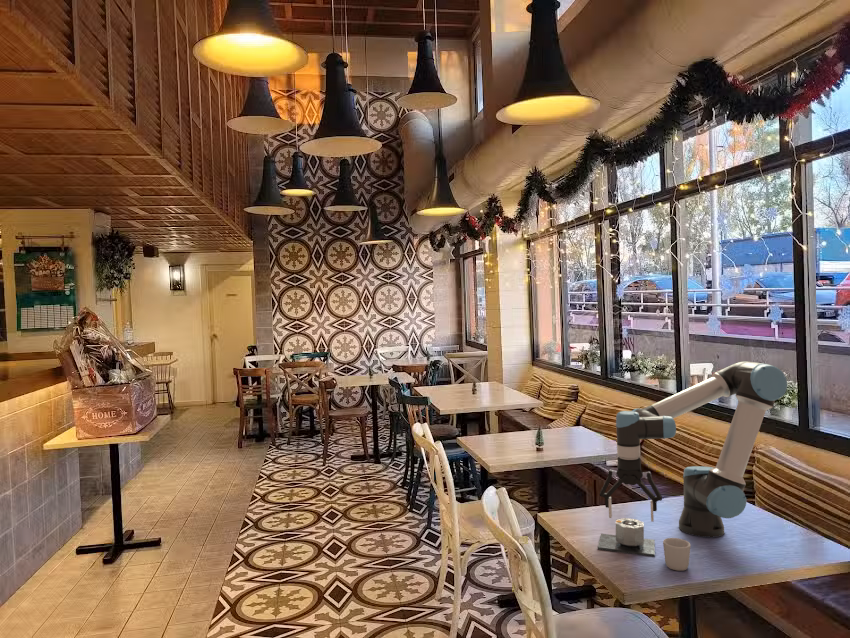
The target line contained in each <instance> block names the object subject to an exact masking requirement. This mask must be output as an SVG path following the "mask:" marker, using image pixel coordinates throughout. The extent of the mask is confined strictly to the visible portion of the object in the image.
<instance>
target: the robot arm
mask: <svg viewBox="0 0 850 638" xmlns="http://www.w3.org/2000/svg"><path fill="white" fill-rule="evenodd" d="M787 389H788V380H787V376H785V373H784V372H783V371H782V370H781V369H780V368H779V367H777V366H775V365H771V364H769V363H762V362H754V361H747V360H746V361H745V360H744V361H738V362H737V363H733V364H731V365H729V366H726V367H724V368H722V369H720V370H718V371H715V372H714V373H713V374H712V375H711V377H709V378H708V379H706V380H703V381H701V382H698V383H696V384H695V385H692V386H690V387H688V388H686V389H683V390H681V391H680V392H677V393H675V394H673V395H669V396H668V397H666V398H664V399H662V400H660V401H657V402H655V403H653V404H650V405H648V406H646V407H644V408H640V407H639V408H634V409H632V410H623V411H619V412H617V413H616V418H615V419H616V420H615V427H616V428H615V431H616V451H617V470H613V469H612V468H609V470H608V474H607V478H606V480H605V481H604V483H603V486H602V487H601V489H600V490H599V491H600V493H599V496H600V498H601V497H602V498H604V501H605V502H604V503H605V504H604V506H605V508H607V509H608V518H609V519H612V517H613V513H612V511H613V508H612V496H611V495H613V494H614V492H616V491H617V489H618V488H619V487H620V486H621V485H622V484H624V485H627V486H628V485H632V486H635V485H637V486H638V487H639V488H640V489H641V490H642V491H643V492H644V493H645V494H646V495H647V496H648V498H649V499H650V500H649V501H650V522H653V523H654V521H655V520H654V512H657V511H658V508H657V507H658V506H657V504H658V503H657V502H659V501H660V502H662V500H663V495H662V494H661V492H660V491H659V490H660V489H659V488H658V486H657V485H656V483H655V481H654V479H653V478H652V473H651V471H650V470H648V471H642V463H641V458H640V457H641V440H656V439H657V440H658V439H659V440H660V439H661V440H665V439H671V438H674V437H675V436H676V433H677V425H676V421H675V420H674V419H676V418H677V417H680V416H682V415H684V414H686V413H688V412H690V411H693V410H695V409H697V408H699V407H702V406H703V405H707V404H709V403H710V402H714V401H715V400H718V399H719V398H721V397H725V398H729V397H731V396H734V395H735V397H736V399H737V401H738V403H737V405H736V409H735V411H734V414H733V417H732V420H731V423H730V425H729V428H728V432H727V434H726V437H725V439H724V443H723V446H722V448H721V451H720V454H719V457H718V459H717V462H716V465H715V467H712V466H702V465H701V466H699V465H698V466H695V465H693V466H687V467H685V468H684V469H683V476H682V478H683V508H682V510H681V514H680V516H679V520H678V528H679V530H680V531H682V532H684V533H686V534H688V535H690V536H695V537H701V538H717V537H723V536H724V535H725V525H724V523H723V519H732V518H735V517H737V516H740V515H741V514H742V513H743V512H744V510H745V509H746V506H747V497H746V494H745V492H744V490H745V488H746V480H744V474H745V471H746V469H747V465H748V463H749V460H750V457H751V455H752V452H753V449H754V445H755V443H756V440H757V438H758V437H757V436H758V434H759V431H760V429H761V425H762V423H763V419H764V417H765V414H766V411H768V410H770V409H773V407H774V404H775V401H777V400H779V399H780V398H782V397H783V396H785V394H786V392H787ZM615 475H616V476H617V477H618V479H617V480H616V482H615V483H614V484H613V485H612V487H610V488H609V490H608V491H607V492H606V490H607V489H608V486H609V484H610V483H611V480H612V478H614V477H615ZM642 477H644V479H646V480H647V482H648V484H649V486H650V487H651V489H652V491H653V492H654V493H653V492H652V491H651V490H650V489H649V488H648V487H647V485H645V483H644V482H643V481H642V480H641V479H642ZM654 494H655V495H654Z"/></svg>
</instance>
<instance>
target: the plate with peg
mask: <svg viewBox="0 0 850 638" xmlns="http://www.w3.org/2000/svg"><path fill="white" fill-rule="evenodd" d="M625 525H630V526H634V522H630V521H626V522H625ZM655 540H656V539H651V538H644V544H642V545H637V546H631V545H623V544H621V543H619V542H617V541H616V534H609V533H600V537H599V541H598V546H597V550H598V551H607V552H616V553H622V554H629V555H639V556H646V557H652V558H653V557H654V558H655V555H656V554H655V551H656V550H655V549H656V547H655V545H656V544H655Z"/></svg>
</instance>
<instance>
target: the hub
mask: <svg viewBox="0 0 850 638" xmlns="http://www.w3.org/2000/svg"><path fill="white" fill-rule="evenodd" d="M626 521H630V522H634V526H630V525H625V522H626ZM615 535H616V541H617V542H619V543H621V544H623V545H631V546H637V545H642V544H644V539H645V522H644V521H641V520H639V519H636V518H628V517H627V518H626V517H622V518H619V519H615Z"/></svg>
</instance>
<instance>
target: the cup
mask: <svg viewBox="0 0 850 638" xmlns="http://www.w3.org/2000/svg"><path fill="white" fill-rule="evenodd" d="M662 544H663V545H662V546H663V552H664V563H665V566H666V567H668V568H669V569H670V570H673V571H677V572H678V571H679V572H682V571H683V572H684V571H686V570H688V568H689V565H690V556H691V555H690V553H691V546H692V545H691V543H690V542H689V541H688V540H686V539H683V538H682V539H681V538H677V537H668V538H664V539H663V541H662Z"/></svg>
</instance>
